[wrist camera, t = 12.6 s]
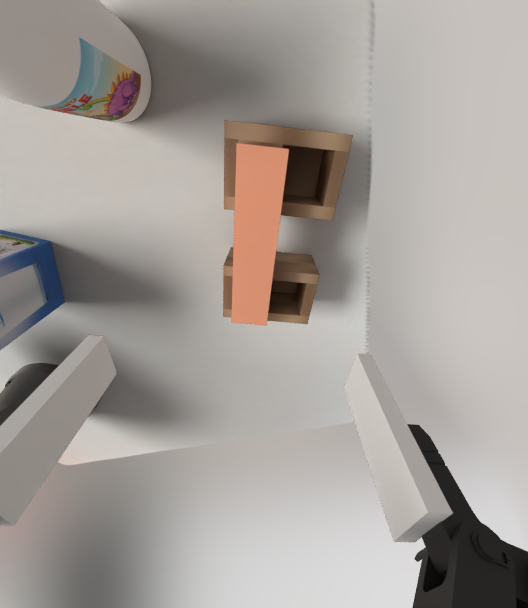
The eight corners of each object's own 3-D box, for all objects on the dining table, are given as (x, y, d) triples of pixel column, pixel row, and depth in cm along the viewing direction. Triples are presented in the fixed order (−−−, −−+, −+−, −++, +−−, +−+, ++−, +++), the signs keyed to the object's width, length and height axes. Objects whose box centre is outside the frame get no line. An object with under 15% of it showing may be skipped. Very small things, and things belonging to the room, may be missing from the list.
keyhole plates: (229, 293, 36) (223, 316, 31) (233, 126, 25) (224, 120, 20) (302, 299, 36) (307, 324, 31) (336, 138, 25) (353, 135, 20)
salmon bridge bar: (266, 293, 34) (266, 325, 27) (238, 291, 33) (231, 322, 27) (284, 149, 24) (289, 148, 18) (244, 144, 24) (236, 143, 18)
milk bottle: (51, 21, 21) (-794, -478, 4) (134, 4, 21) (-477, -660, 4) (94, 129, 25) (-253, 86, 8) (165, 117, 25) (-59, 45, 8)
